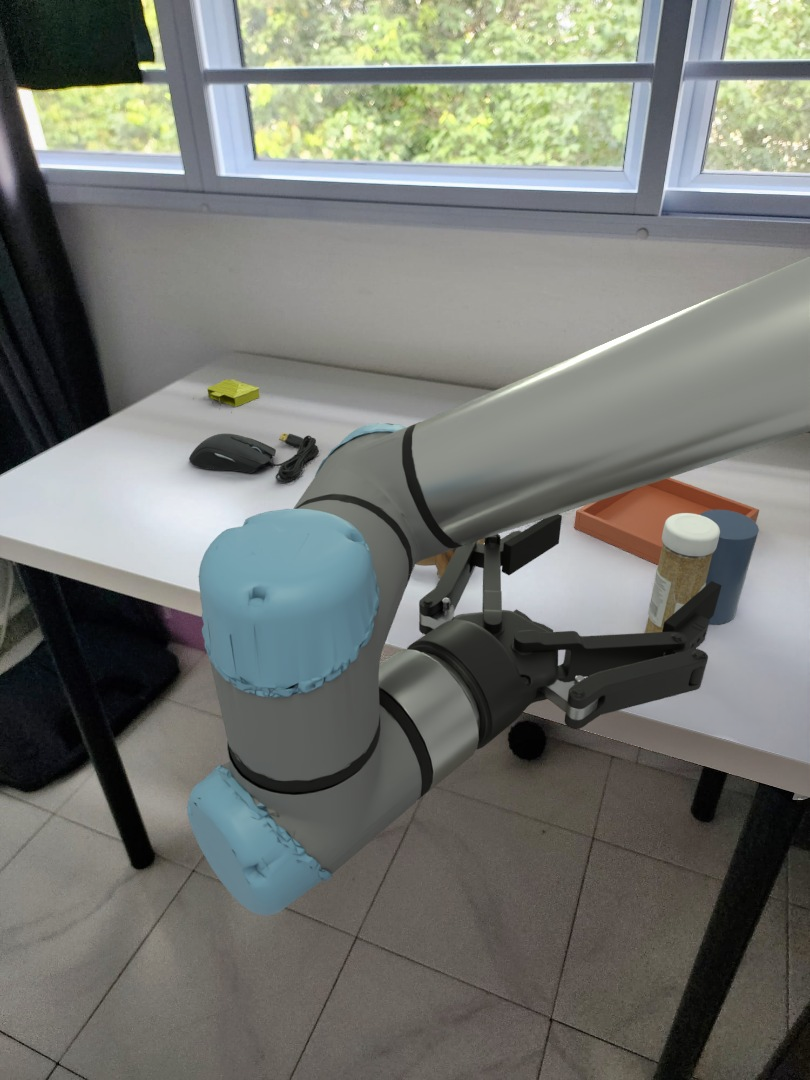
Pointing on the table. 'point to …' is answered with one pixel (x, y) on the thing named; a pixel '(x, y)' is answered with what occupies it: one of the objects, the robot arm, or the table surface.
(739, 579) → the blue can
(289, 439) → the computer mouse
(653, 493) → the tray
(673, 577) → the spice jar
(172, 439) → the table surface
